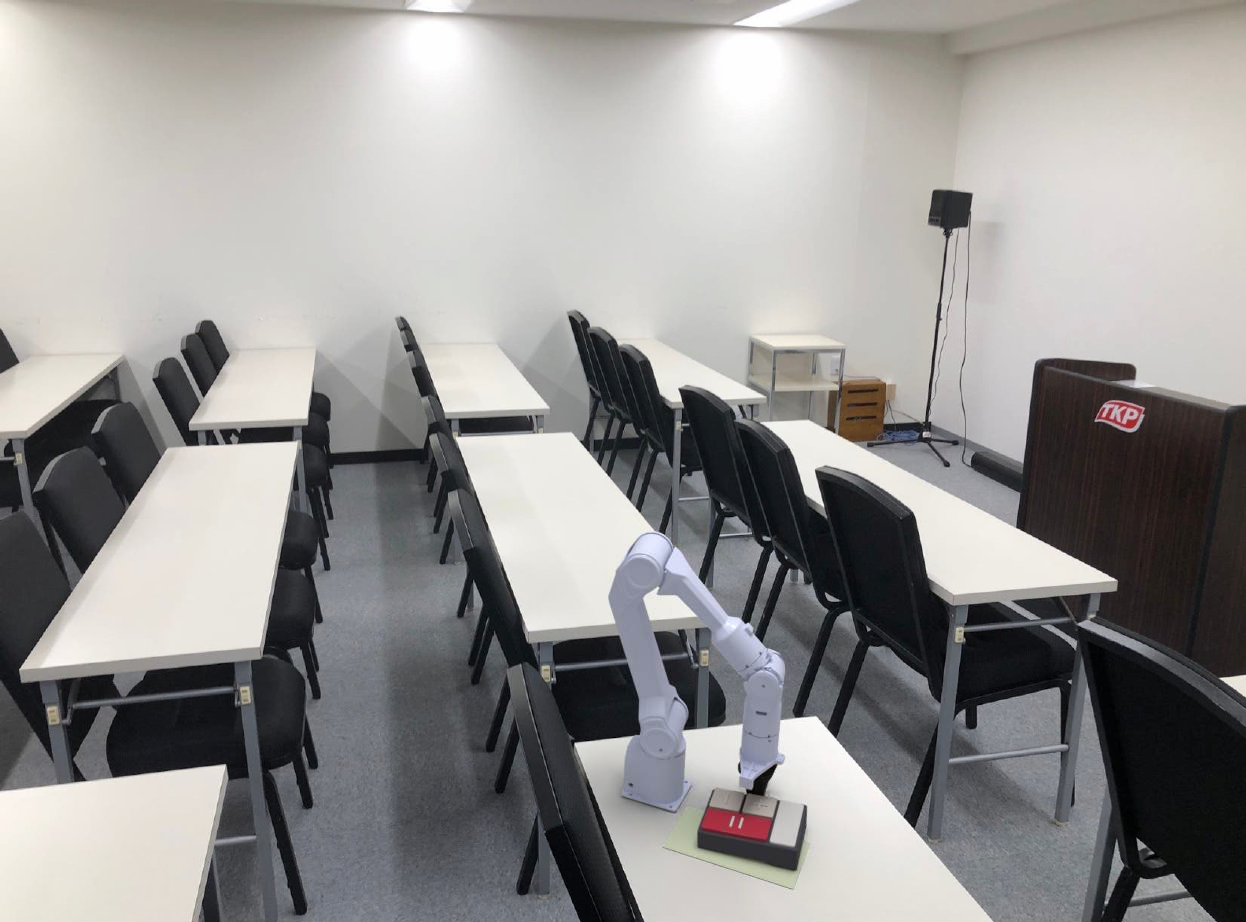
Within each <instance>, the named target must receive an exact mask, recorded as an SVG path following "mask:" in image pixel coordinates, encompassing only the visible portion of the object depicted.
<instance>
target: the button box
mask: <svg viewBox="0 0 1246 922" xmlns="http://www.w3.org/2000/svg"><path fill="white" fill-rule="evenodd" d="M704 811H705V812H704V814H703V817H702V820H701V822H700V825H699V828H698V830H697V846H698V847H699V848H702V849H707V850H712V851H717V852H722V853H727V854H732V855H737V856H742V857H747V858H752V859H757V860H762V861H766V862H767V863H768V864H770V865H771V866H775V867H780V868H785V869H790V870H796V869H797V867H798V862H799V858H800V853H801V848H802V844H803V841H804V838H805V834H806V829H807V823H808V821H807V820H808V806H807V804H803V803H798V802H795V801H794V802H793V801H789V800H787V801H786V800H781V799H778V798H776V797H770V796H766V795H765V796H760V795H754V794H748V795H747V793H744V792H742V791H738V790H730V789H725V788H719V787H715V788H714V789H712V790H711V794H710V796H709V799H708V801H707V804H706V807H705V810H704Z"/></svg>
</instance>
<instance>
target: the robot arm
mask: <svg viewBox="0 0 1246 922" xmlns="http://www.w3.org/2000/svg"><path fill="white" fill-rule="evenodd" d="M657 588H658V590H657V592H656V595H657V596H677V597H678V598H679V599H680V600H681V601H682V602H683V604H685V606H686V607H687V608H688V609H689V610H690V611H692V612H693V613H694V615H695V616H696V617H697V618H698V619H699V620H700V621H701V622H702V623H703V624H704V625H705V626H706V627H707V628H708V629H709V630H710V631H711V643H712V645H713V646H714V647H715V648H716V649H717V651H718V652H719V653H720V654H721V655H722V656H723V658H724V659H725V660H726V661H727V662H728V664H730V666H731V667H732V668H733V669H734V670H735V672H737V674H738V675H739V676H741V677H742V678H743V679H744V681H743V684H742V685H743V690H744V692H745V694H746V696H745V698H744V701H743V702H744V704H743V717H742V718H743V719H742V731H741V732H742V733H741V744H740V747H739V754H738V755H739V762H738V764H737V771H738V773H739V778H738V779H739V781H738V787H740V788H743V789H745V794H747V795H748V794H754V795H760V796H766V792H767V789H768V785H769V782H770V781H771V779H772V778H773V777H774V773H776V770H777V767H778V765H779V766H782V765H783V764H784V762H785V759H786V755H785V754H783V753H780V752H779V742H780V732H781V731H780V729H781V720H782V719H781V718H782V717H781V716H782V708H783V707H782V706H783V704H782V703H783V702H782V699H783V692H784V683H785V682H784V681H785V677H786V674H785V673H786V666H785V664H786V663H785V661H784V659H783V657H782V656H781V654H780V653H779V652H778V651H776V650H773V649H771V648H767V647H766V646H765V645H764V644H763V643H762V642H761V641H760V639H759V638H758V637H757V636H756V635H755V633H753V632H754V626H752V625H751V624H750V622H747V623H746V622H744V621H743V619H741V617H736V616H729V615H728V614H727V613H726V612H725V610H724V609H723V607H722V606H721V605H720V604H719V602H718V601H717V599H716V598H715V597H714V596H713V595H712V594H711V592H710V591H709V590H708V588H707V587H706V586H705V584H704V582H702V581H701V579H700V578H699V576H698V575H697V574H696V573H695V571H694V570H693V569H692V568H691V566H690V564H689V562H688V561H687V560H686V558H685V556H684V554H683V553H682V551H681V550H680V549H679V548H677V547H676V546H675V547H674V545H673V543H672V541H671V540H670V538H669V537H667V536H666V535H665V534H663V533H662V532H659V531H654V530H652V531H651V530H650V531H646V532H644V533H642V534H640V535H639V536H638V537H637V538H636V539H635V541H634V542H633V543H632V544H631V546H630V547H628V550H627V552H626V553H625V555H624V557H623V559H622V560H621V562H620V564H619V565H618V566H617V568H616V570H615V574H614V578H613V581H612V584H611V586H610V590H609V593H608V596H607V597H608V598H607V599H608V603H609V607H610V610H611V614H612V616H613V620H614V622H615V626H616V628H617V632H618V636H619V639H620V642H621V645H622V648H623V652H624V655H625V658H626V661H627V665H628V668H629V671H630V673H631V674H630V675H631V676H632V677H631V678H632V681H633V684H634V686H635V687H634V688H635V689H636V690H635V691H636V693H637V696H638V700H639V701H638V722H639V725H640V733H639V734H638V735H637V734H634V736H632V738H631V739H630V741H629V743H628V745H627V748H626V752H625V756H624V765H623V766H624V768H623V770H624V771H623V790H622V792H621V796H622V797H624V798H628V799H630V800H634V801H637V802H640V803H644V804H647V805H650V806H653V807H657V808H660V809H662V810H667V811H669V812H673V813H674V812H677V811H678V809H679V808H680V807H681V804H682V802H683V801H684V800H685V798H686V796H687V794H688V793H689V790H690V789H691V787H692V785H693V782H692V781H691V780H687V779H685V772H686V771H685V769H686V750H687V749H686V748H687V743H686V739H685V737H684V735H683V731H684V727H685V725H686V723H687V721H688V718H689V710H688V706H687V704H686V703H685V702H684V701H683V700H682V699H681V698H680V697H679V694H678V693H677V689H676V687H675V686H674V685H671V684H670V681H669V680H668V676H667V673H666V670H665V665H664V663H663V660H662V657H661V653H660V650H659V646H658V643H657V640H656V637H655V636H656V635H655V633H654V629H653V626H652V623H651V620H650V617H649V613H648V609H647V607H646V604H645V600H644V598H645V596H646V595H648V594H649V593H651V592H653V591H654V590H656V589H657Z"/></svg>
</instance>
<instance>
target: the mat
mask: <svg viewBox="0 0 1246 922" xmlns="http://www.w3.org/2000/svg"><path fill="white" fill-rule="evenodd" d="M704 812H705V810H702V809H700V808H695V807H692V806H689V805H686V806H685V808H684V810H683V812H682V814H681V815H680V817H679V819H678V820H677V821H676V823H675V825H674V827H673V828H672V831H671V832H670V834H669V836H668V837H667V839H666V841H665V842H664V844H663V846H662V848H664V849H666V850H671V851H673V852H675V853H680V854H681V855H686V856H688V857H691V858H695V859H697V860H700V861H704V862H706V863H710V864H713V865H715V866H716V865H717V866H719V867H722V868H726V869H729V870H731V871H735V872H738V873H741V874H743V875H747V876H751V877H753V878H757V879H759V880H762V881H766V882H768V883H771V884H775V885H778V886H780V887H784V888H787V889H791V890H794V888H795V885H796V883H797V880H798V877H799V874H800V871H801V869H802V866H803V864H804V861H805V858H806V856H807V853H808V850H809V847H810V845H811V842H808V841H806V840H805V841H804V840H803V844H802V848H801V853H800V858H799V862H798V867H797V869H796V870H790V869H785V868H780V867H775V866H771V865H770V864H768V863H767V862H766V861H762V860H757V859H752V858H747V857H742V856H737V855H732V854H727V853H722V852H717V851H712V850H707V849H702V848H699V847H698V846H697V830H698V828H699V825H700V822H701V820H702V817H703V814H704Z"/></svg>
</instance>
